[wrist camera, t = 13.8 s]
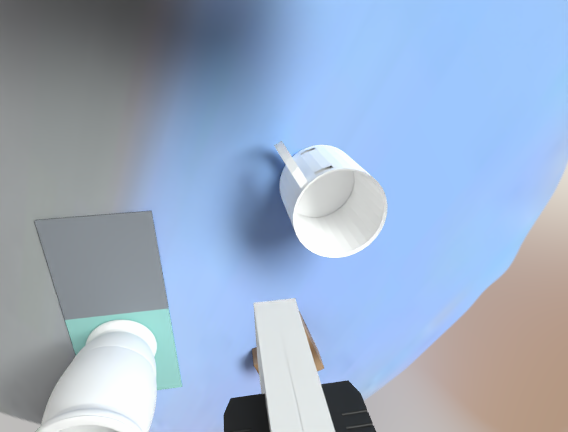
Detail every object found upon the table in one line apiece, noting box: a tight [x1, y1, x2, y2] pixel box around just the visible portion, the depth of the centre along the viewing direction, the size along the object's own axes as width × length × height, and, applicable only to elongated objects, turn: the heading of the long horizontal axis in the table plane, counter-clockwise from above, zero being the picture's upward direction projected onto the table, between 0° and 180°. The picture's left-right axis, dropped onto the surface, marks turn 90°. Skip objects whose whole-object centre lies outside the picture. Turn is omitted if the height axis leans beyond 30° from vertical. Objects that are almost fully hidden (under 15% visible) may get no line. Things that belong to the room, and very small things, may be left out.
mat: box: [35, 211, 182, 390], centre depth 48 cm, size 26×12×1 cm, turn 2°
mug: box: [274, 141, 387, 258], centre depth 41 cm, size 12×9×9 cm
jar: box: [36, 320, 157, 432], centre depth 43 cm, size 11×10×15 cm
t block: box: [252, 311, 324, 373], centre depth 53 cm, size 8×8×3 cm
